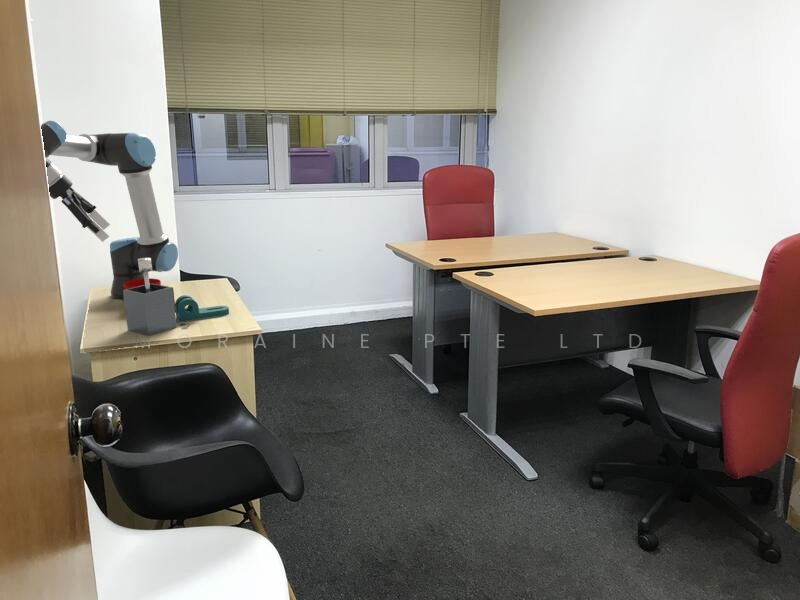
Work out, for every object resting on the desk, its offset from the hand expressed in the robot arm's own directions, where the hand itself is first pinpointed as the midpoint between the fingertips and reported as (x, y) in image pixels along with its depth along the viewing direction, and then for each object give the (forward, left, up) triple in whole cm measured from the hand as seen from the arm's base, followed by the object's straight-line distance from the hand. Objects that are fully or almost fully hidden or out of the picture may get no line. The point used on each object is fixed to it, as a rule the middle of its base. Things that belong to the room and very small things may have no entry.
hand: (106, 232), depth 203 cm
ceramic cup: (-23, -15, -33) cm, 43 cm away
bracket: (-27, +11, -33) cm, 44 cm away
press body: (-9, +8, -33) cm, 35 cm away
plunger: (-7, +8, -26) cm, 28 cm away
